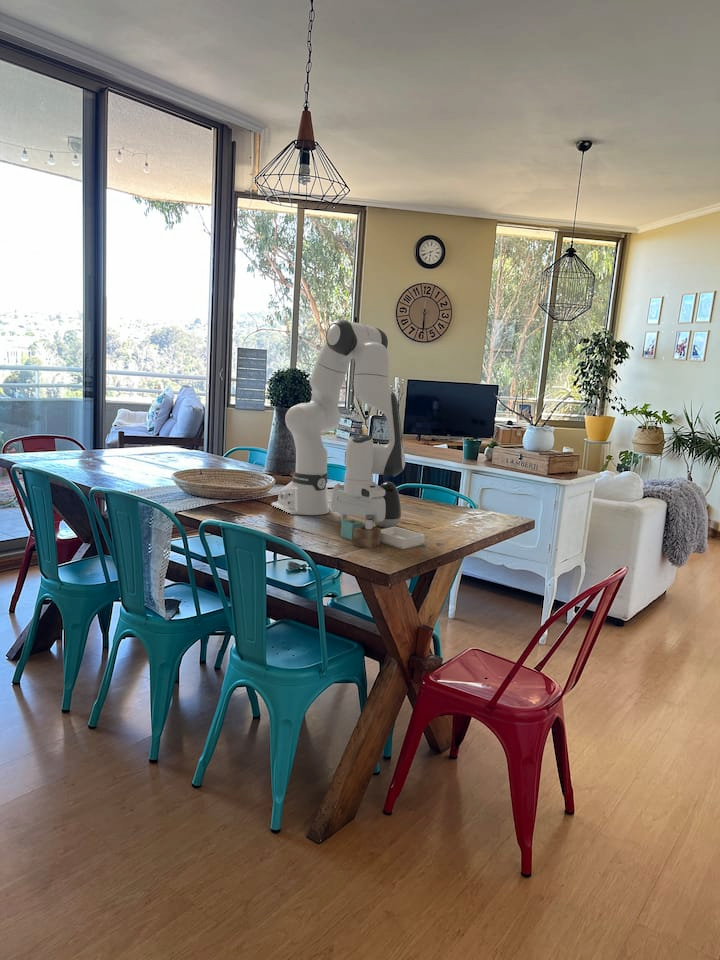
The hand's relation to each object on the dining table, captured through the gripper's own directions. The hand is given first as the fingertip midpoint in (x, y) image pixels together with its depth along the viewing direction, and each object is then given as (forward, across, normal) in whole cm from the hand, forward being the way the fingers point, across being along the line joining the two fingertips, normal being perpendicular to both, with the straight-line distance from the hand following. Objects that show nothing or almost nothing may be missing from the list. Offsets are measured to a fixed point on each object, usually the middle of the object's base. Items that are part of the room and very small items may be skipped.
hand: (356, 530), depth 218 cm
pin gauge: (+2, +8, -3) cm, 9 cm away
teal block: (+2, -1, -1) cm, 3 cm away
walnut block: (+2, +8, -4) cm, 9 cm away
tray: (+2, +12, +6) cm, 14 cm away
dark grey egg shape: (+2, -4, +19) cm, 20 cm away
